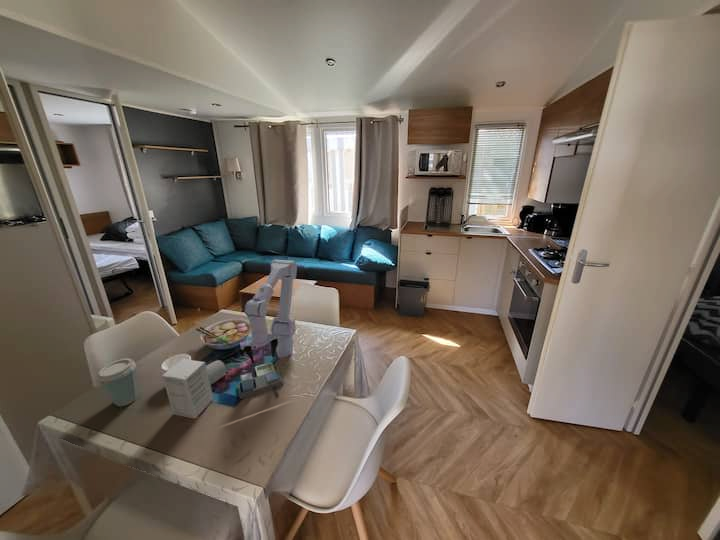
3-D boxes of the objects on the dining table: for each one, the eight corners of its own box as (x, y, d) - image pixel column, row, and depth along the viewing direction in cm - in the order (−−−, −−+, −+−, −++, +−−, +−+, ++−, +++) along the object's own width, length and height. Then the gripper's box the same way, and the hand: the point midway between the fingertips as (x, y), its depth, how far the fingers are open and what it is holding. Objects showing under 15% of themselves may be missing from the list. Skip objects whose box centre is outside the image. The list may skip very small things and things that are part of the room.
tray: (255, 370, 117) (254, 366, 117) (272, 365, 120) (271, 361, 120) (258, 380, 112) (257, 377, 111) (275, 375, 115) (275, 371, 114)
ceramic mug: (229, 376, 114) (226, 361, 111) (211, 389, 107) (207, 373, 104) (212, 368, 118) (209, 353, 116) (194, 380, 111) (190, 364, 109)
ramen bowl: (265, 340, 138) (263, 326, 135) (222, 365, 120) (219, 350, 117) (234, 325, 151) (232, 312, 148) (191, 346, 132) (188, 332, 130)
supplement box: (214, 399, 102) (206, 361, 97) (195, 419, 94) (185, 379, 88) (192, 394, 104) (183, 357, 99) (172, 414, 96) (160, 375, 90)
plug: (242, 388, 107) (240, 375, 105) (253, 384, 109) (251, 371, 107) (243, 395, 104) (241, 381, 102) (254, 391, 105) (252, 378, 103)
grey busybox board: (238, 387, 108) (237, 381, 107) (279, 374, 115) (278, 368, 114) (241, 411, 97) (240, 404, 96) (286, 395, 105) (286, 388, 103)
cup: (163, 381, 111) (157, 362, 108) (190, 368, 118) (186, 350, 114) (170, 394, 104) (164, 374, 101) (199, 380, 111) (194, 361, 108)
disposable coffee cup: (105, 415, 95) (91, 381, 90) (111, 395, 103) (98, 362, 98) (143, 403, 100) (132, 369, 95) (146, 384, 109) (136, 352, 104)
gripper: (239, 339, 98) (244, 370, 103) (280, 329, 105) (283, 359, 109) (237, 329, 104) (242, 359, 109) (276, 321, 111) (279, 349, 115)
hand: (263, 358), depth 110 cm, fingers open, 7 cm apart
